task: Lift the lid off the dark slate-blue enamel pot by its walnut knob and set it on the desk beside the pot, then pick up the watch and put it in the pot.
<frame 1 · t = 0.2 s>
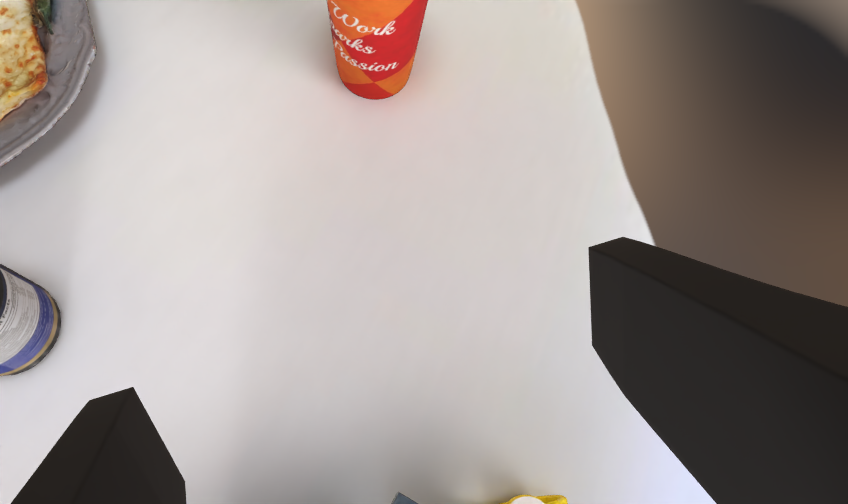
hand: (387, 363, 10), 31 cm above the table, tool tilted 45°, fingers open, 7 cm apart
pill bottle: (14, 329, 39), on the table
paper cup: (374, 70, 48), on the table
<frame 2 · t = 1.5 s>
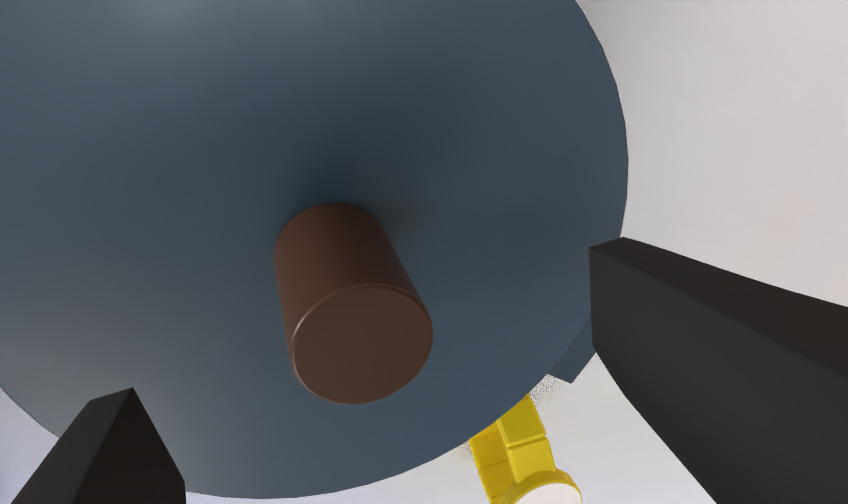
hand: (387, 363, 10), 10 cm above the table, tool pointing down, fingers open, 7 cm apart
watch: (477, 396, 25), on the table
pot: (297, 155, 19), on the table
lid: (328, 243, 13), point 6 cm above the table, touching pot
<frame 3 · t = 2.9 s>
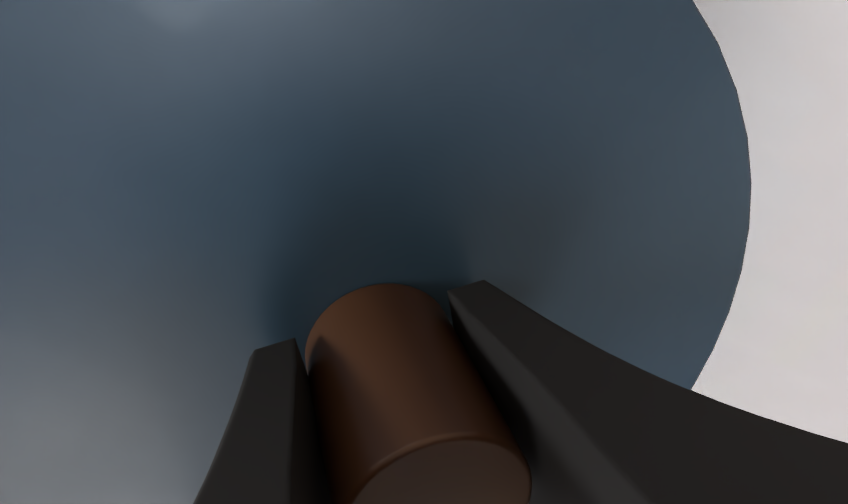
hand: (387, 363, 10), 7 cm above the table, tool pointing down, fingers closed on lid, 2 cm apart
lid: (372, 327, 11), point 6 cm above the table, touching gripper, pot
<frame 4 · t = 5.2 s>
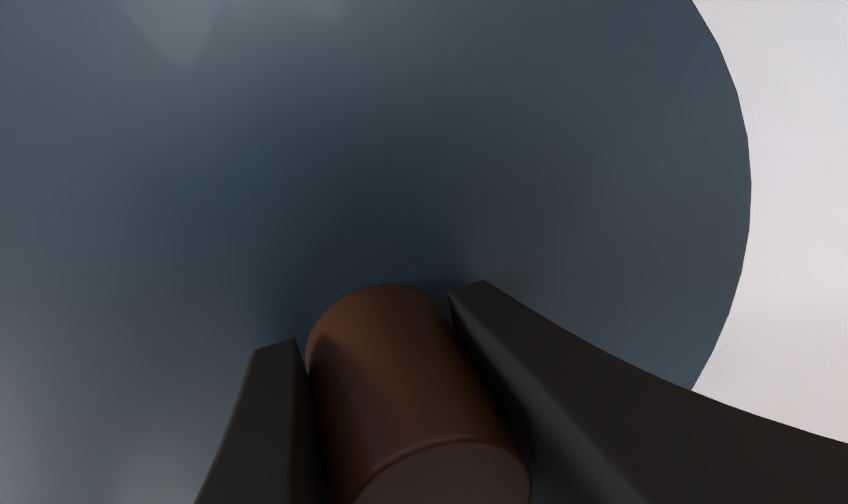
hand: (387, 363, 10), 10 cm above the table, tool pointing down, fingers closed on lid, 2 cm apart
lid: (372, 329, 11), point 9 cm above the table, touching gripper
when the fingers open (2 cm above the table, at t = 7.4 s): lid stays where it is, point 1 cm above the table.
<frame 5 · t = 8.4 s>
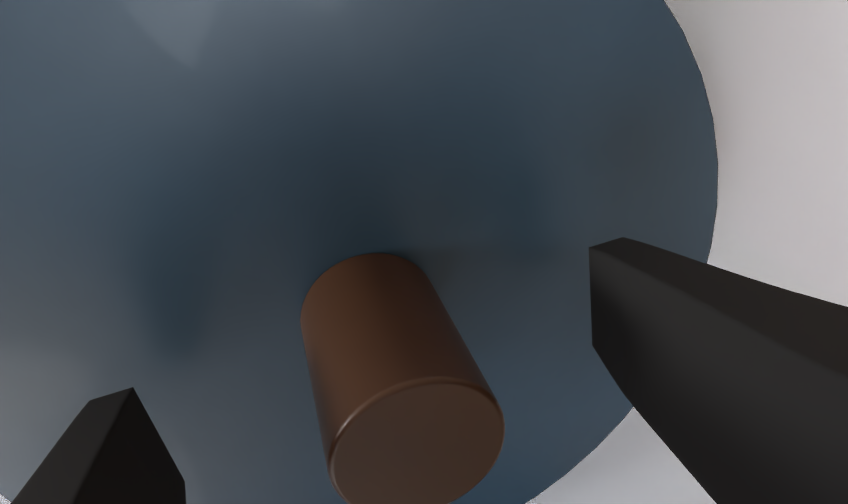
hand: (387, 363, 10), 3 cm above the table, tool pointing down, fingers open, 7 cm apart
lid: (363, 297, 11), point 1 cm above the table
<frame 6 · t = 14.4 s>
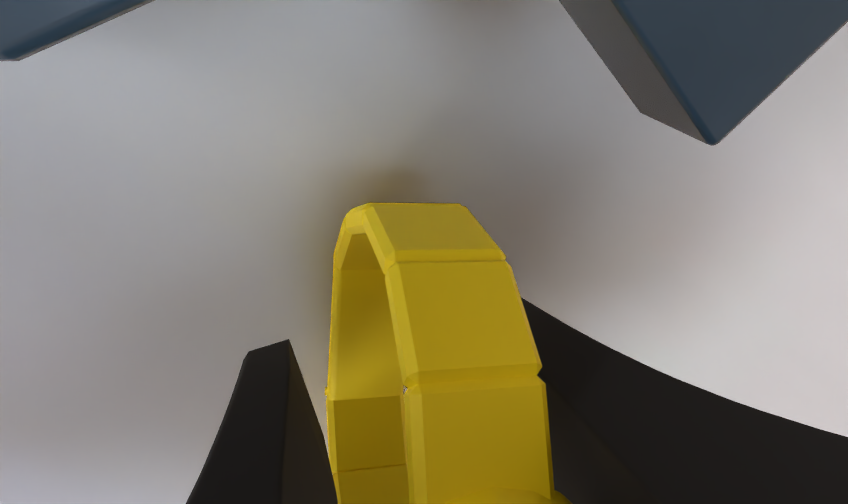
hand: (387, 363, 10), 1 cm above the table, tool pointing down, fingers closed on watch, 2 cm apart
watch: (366, 309, 11), on the table, touching gripper
when the fingers open (2 cm above the table, at t = 19.3 s): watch stays where it is, resting on pot.
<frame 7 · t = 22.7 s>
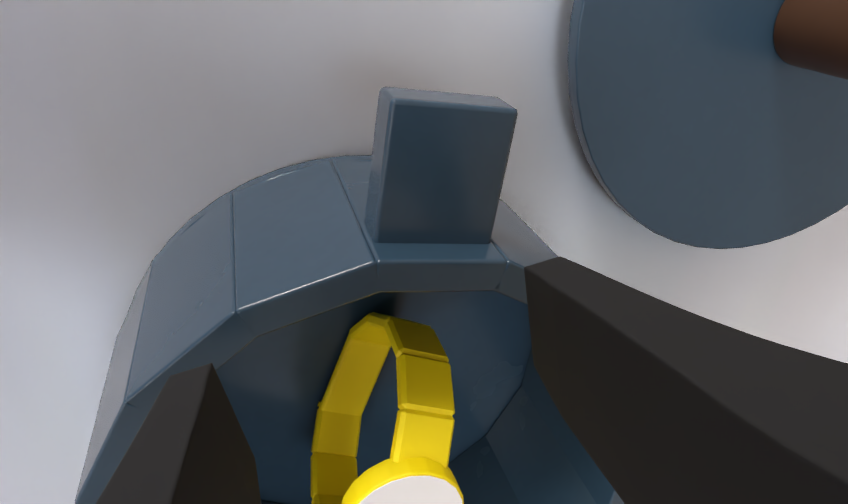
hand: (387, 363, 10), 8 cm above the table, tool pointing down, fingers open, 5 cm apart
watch: (354, 361, 19), resting on pot
pot: (353, 355, 19), on the table
lid: (795, 17, 17), point 1 cm above the table
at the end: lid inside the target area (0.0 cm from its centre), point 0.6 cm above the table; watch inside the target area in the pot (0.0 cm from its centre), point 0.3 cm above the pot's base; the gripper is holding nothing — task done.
